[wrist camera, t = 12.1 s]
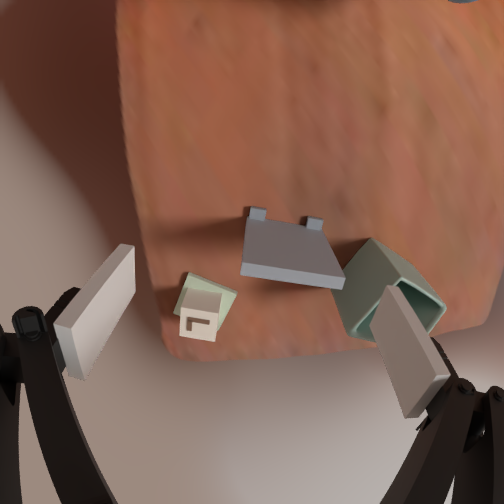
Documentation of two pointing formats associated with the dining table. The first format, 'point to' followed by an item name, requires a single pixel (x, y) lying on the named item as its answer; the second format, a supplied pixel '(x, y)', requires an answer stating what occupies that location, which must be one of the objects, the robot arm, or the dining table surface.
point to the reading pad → (207, 285)
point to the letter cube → (200, 314)
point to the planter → (382, 289)
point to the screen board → (289, 252)
